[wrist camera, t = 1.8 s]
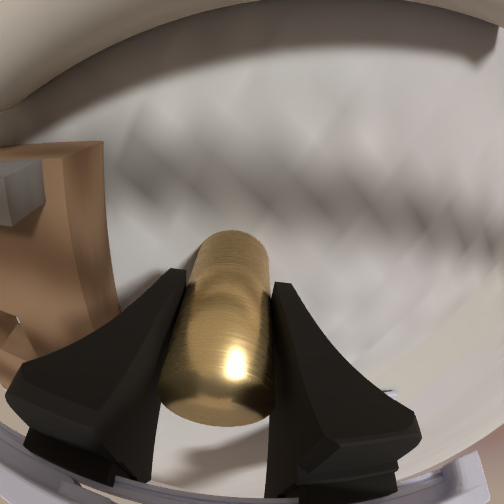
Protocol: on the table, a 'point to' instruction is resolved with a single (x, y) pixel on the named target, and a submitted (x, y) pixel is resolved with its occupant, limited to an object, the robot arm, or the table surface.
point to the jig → (52, 250)
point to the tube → (111, 32)
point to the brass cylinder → (223, 337)
